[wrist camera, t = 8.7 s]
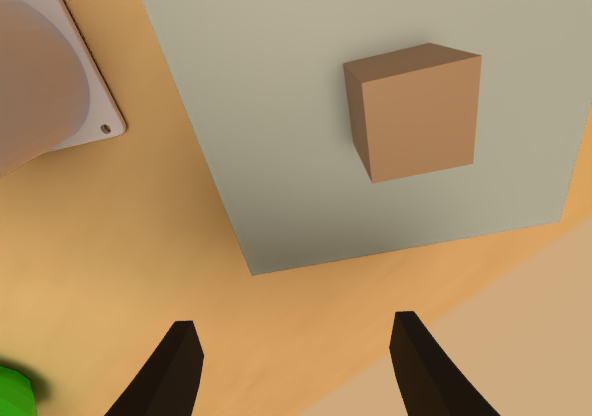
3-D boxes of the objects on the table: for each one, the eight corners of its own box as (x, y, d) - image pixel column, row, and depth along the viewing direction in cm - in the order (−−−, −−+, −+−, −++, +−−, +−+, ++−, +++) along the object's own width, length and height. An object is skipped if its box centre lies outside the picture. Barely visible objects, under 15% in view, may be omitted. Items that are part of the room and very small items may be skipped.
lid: (252, 267, 17) (243, 334, 14) (105, -112, 9) (-8, -184, 6) (550, 215, 16) (625, 274, 12) (675, -293, 8) (992, -541, 4)
